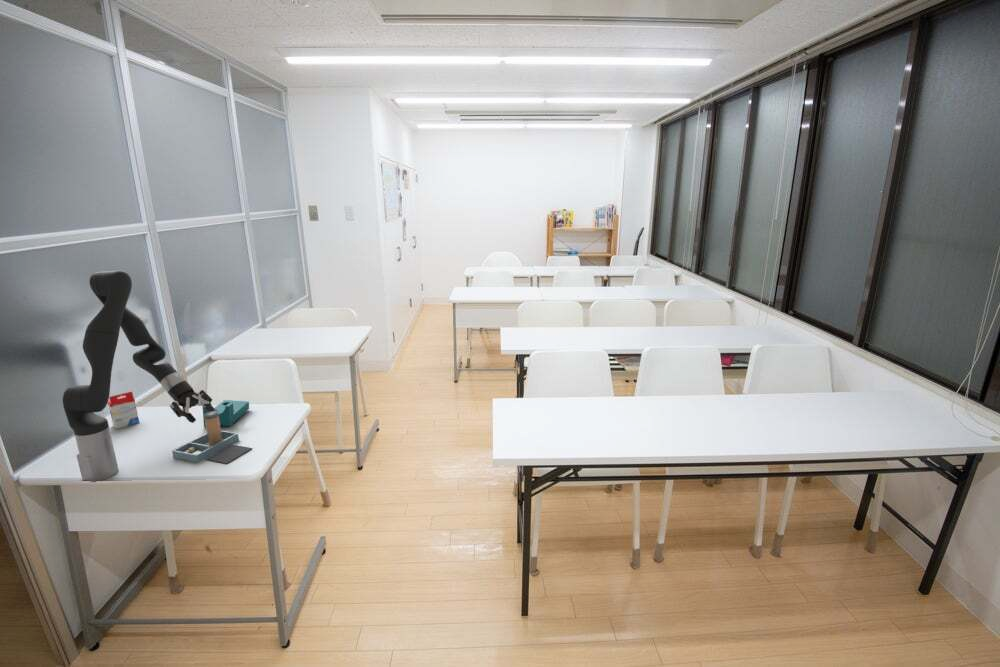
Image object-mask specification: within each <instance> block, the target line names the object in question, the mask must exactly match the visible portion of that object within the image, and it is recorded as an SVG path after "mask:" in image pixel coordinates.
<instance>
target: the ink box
mask: <svg viewBox="0 0 1000 667" xmlns="http://www.w3.org/2000/svg"><path fill="white" fill-rule="evenodd" d="M107 405H108V410H109V413H110V417H111V422H112V425H113V426H112V427H114V428H115V429H116V430H117V429H121V428H124V427H128V426H132V425H135V424H139V423H140V420H139V415H138V414H139V413H138V410H137V405H136V400H135V397H134V395H133V391H128V392H124V393H120V394H116V395H111V396H110V395H109V400H108V403H107Z"/></svg>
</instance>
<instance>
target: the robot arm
mask: <svg viewBox="0 0 1000 667" xmlns="http://www.w3.org/2000/svg"><path fill="white" fill-rule="evenodd" d="M88 282H89V286H90V289H91V290H92V292H93V294H94V295H95V296H96V298H98V300H99V301H100V302H101V303H102V305H103V306H102V308H101V310H100V311H99V312H98V313H97V314H96V315H95V316H94V318H93V319H92V320H91V321H90V322H89V323H88V325H87V327H86V329H85V333H84V337H83V341H82V351H83V352H84V354H85V357H86V359H87V361H88V362H89V364H90V367H91V381H90V384H86V385H85V384H83V385H82V384H79V385H78V384H77V385H72V386H68V387H67V388H66V389H65V391H64V392H63V395H62V405H63V410H64V412H65V416H66V418H67V422H68V425H69V427H70V428H71V430H72V431H73V433H74V438H75V441H76V445H77V446H76V447H77V451H78V454H76V460H77V463H78V468H79V472H80V477H81V480H82V481H87V482H91V483H96V482H99V481H102V480H106V479H109V478H111V477H113V476H114V475H116V474H118V472H119V464H118V462H117V456H116V452H115V447H114V444H113V439H112V433H111V430H110V426H109V421H108V419H107V418H106V417H104V416H102V415H98V414H96V413H99V412H102V411H103V410H105V408H106V407H107V405H108V401H110V399H109V397H110V392H111V383H112V382H111V381H112V379H111V378H112V371H113V366H114V359H115V356H116V355H115V354H116V350H117V346H118V342H119V337H120V331H121V330H122V332H123V333H124V335H125V337H126V338H127V340H128V342H129V344H130V345H131V346H133V347H141V346H146V345H148V346H146V347H144V348H141V349H140V350H137V351H136V352H134V353H133V354H132V360H133V363H134V364H135V365H136V366H138V367H139V368H140V369H142V370H144V371H146V372H147V373H149V374H150V375H152V376H153V377H154V378H155V380H156V381H157V382H158V383H159V384H160V385H161V387H162V388H163V390H164V391H165V392H166V393H167V394H168V396H170V397H171V399H172V400H173V401H172V403H171V404H170V405H169V407H170V409H171V410H172V411H173V413H174V414H175V415H176V416H177V418H182V417H184V418H186V420H187V421H188V422H190V423H191V424H194V423H195V422H196V421H197V419H196V418H195V416H194V415H193V414H192V413H191V412H190V411H189V410H190V409H191V408H193V407H195V406H196V407H197V406H201V407H203V406H204V407H205V408H206V410H207V411H208V412H212V411H214V408H215V407H212V406H213V405H212V404H211V405H212V406H211V405H210V402H211V403H212V401H213V399H212V398H211V396H209V395H208V393H207V392H206V391H204V389H202V390H200V391H199V392H195V390H194V388H193V387H192V386H191V384H189V383H188V381H187V380H186V379H185V378H184V377H183V376H182V375H181V374H180V373H179V372H178V371H177V370H176V369H175V367H174V366H172V364H170V363H168V362H164V363H159V364H157V363H158V362H160V361H162V360H164V359H166V358H165V357H166V355H167V354H166V351H165V349H164V348H163V347H162V346H161V345H160V344H159V343H158V342H157V341H156V340H155V339H154V338H153V337H152V335H151V334H150V332H149V330H148V328H147V326H146V325H145V323H144V321H143V320H142V319H141V318H140V316H138V315H137V314H136V313H134V312H133V311H132V310H130V308H128V307H127V304H128V300H129V298H130V295H131V291H132V288H133V287H132V285H133V284H132V282H133V281H132V278H131V276H130V274H129V273H128V272H126V271H124V270H106V271H105V270H103V271H96V272H94V273H93V274H91V275H90V278H89V281H88ZM120 329H121V330H120ZM180 406H181V407H182V408H181V407H180Z"/></svg>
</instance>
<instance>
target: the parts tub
mask: <svg viewBox="0 0 1000 667" xmlns="http://www.w3.org/2000/svg"><path fill="white" fill-rule="evenodd" d="M221 434H222V440H223V441H221V442H219V443H217V444H216V445H214V446H209V444H204V443H206V442H208V436H207V432H206V433H205V434H202V435H201V436H199V437H196V438H194V439H192V440H191V441H188V442H186V443H184V444H182V445H180V446H178V447H177V448H175V449H172V450H171V453H172V457H173V459H177V460H180V461H181V460H182V461H187V462H192V463H197V464H199V463H200V462H202V461H204V460H206V458H208V457H210V456H212V455H213V454H215V453H217V452H219V451H221V450H222V449H224V448H226V447H228V446H230V445H231V444H233V445H234V444H235V443H236V442H239V440H240V438H239V433H237V432H234V431H233V432H232V431H226V430H222V429H221Z"/></svg>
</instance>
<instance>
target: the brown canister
mask: <svg viewBox="0 0 1000 667" xmlns="http://www.w3.org/2000/svg"><path fill="white" fill-rule="evenodd" d="M204 418H205V424H206V427H205V428H206V429H205V431H206V433H207V436H208V441H207V442H208V446H214V445H216V444H217V443H219V442H221V441H223V440H224V439H223V438H222V434H221V430H222V429H221V425H220V421H219V413H218V412H217V411H212V412H208V413H205V414H204Z"/></svg>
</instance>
